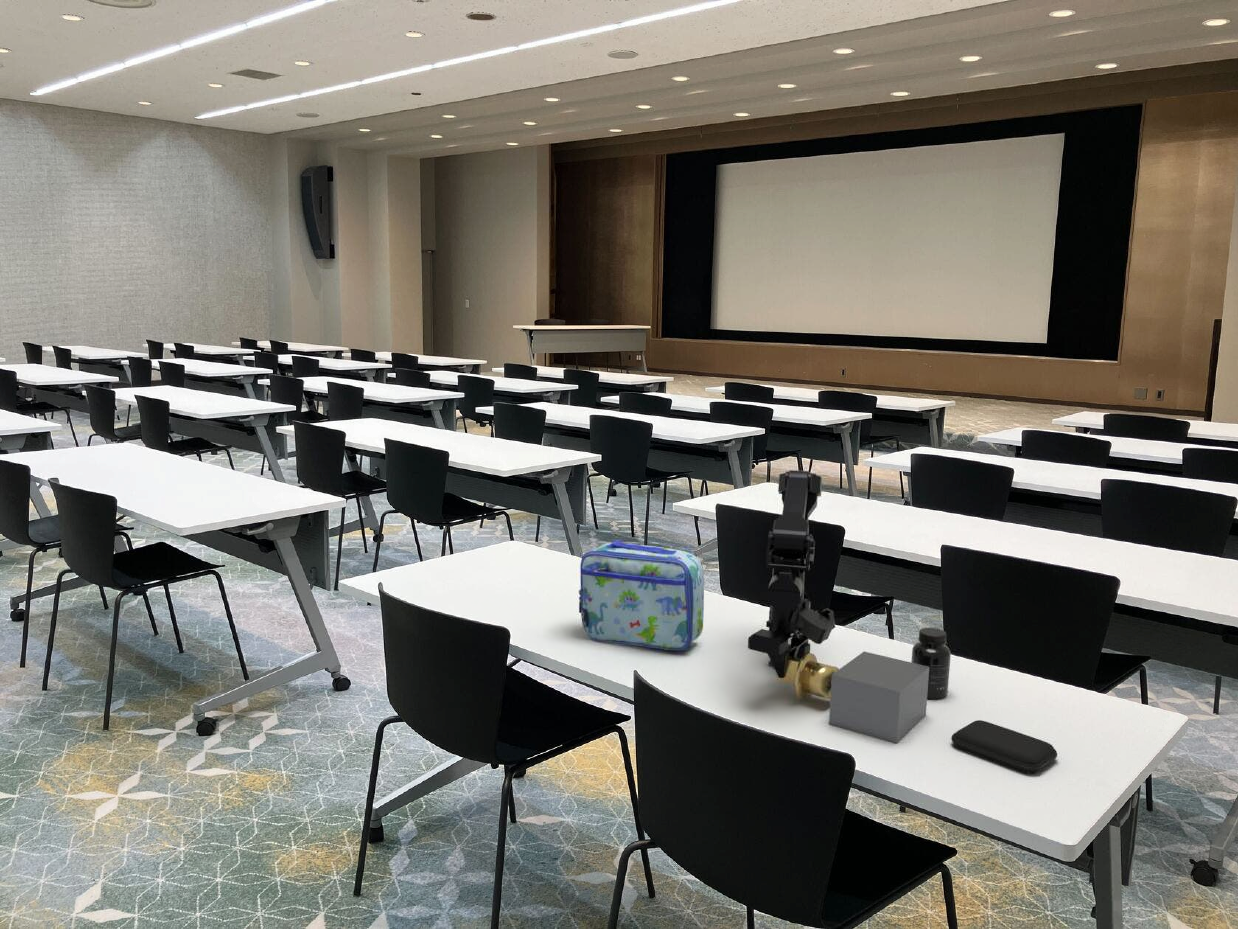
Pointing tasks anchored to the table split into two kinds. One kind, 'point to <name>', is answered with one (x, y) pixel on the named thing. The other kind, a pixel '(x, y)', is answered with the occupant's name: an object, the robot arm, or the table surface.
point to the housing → (879, 696)
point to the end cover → (809, 676)
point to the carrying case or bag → (1004, 746)
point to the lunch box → (642, 596)
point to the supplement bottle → (933, 660)
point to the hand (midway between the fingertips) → (784, 675)
